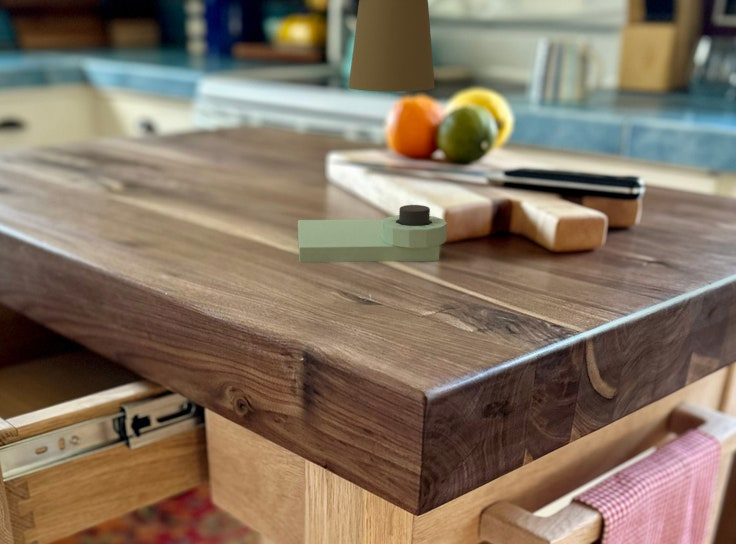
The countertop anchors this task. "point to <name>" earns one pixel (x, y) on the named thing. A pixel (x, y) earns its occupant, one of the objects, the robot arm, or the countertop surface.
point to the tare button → (414, 215)
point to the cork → (392, 46)
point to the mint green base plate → (369, 240)
